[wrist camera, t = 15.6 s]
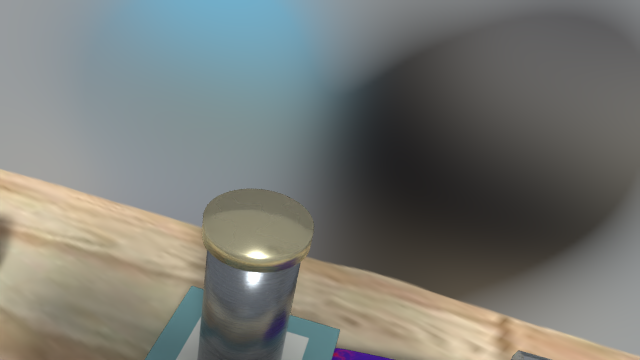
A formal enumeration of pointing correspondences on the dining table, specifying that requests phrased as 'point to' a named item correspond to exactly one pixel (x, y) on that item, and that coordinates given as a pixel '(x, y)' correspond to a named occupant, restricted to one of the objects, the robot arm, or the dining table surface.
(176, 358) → the stand
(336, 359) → the handheld gaming console
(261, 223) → the metal jar with lid
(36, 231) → the dining table surface
